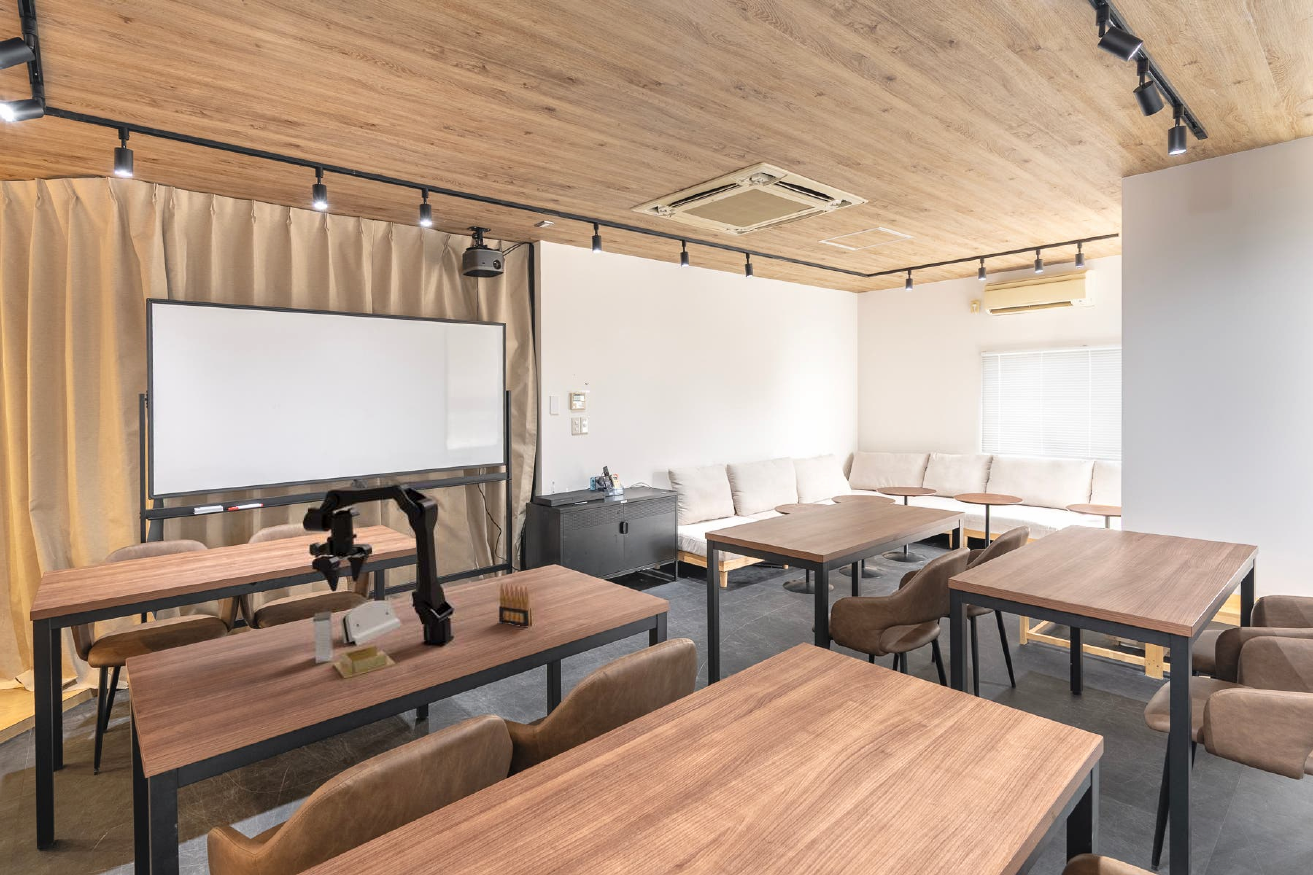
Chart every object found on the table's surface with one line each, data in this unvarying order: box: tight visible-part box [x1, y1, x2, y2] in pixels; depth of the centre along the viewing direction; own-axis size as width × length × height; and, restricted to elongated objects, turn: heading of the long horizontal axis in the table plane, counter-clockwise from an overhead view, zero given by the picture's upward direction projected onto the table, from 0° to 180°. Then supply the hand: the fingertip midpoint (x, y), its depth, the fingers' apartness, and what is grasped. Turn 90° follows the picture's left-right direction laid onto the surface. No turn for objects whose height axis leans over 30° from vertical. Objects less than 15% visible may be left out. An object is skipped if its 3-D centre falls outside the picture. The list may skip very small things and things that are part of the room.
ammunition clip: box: [498, 582, 533, 627], centre depth 191 cm, size 11×2×12 cm, turn 65°
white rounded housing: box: [339, 600, 403, 646], centre depth 186 cm, size 17×5×10 cm, turn 156°
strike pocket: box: [333, 644, 396, 679], centre depth 164 cm, size 12×11×3 cm
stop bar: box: [312, 610, 334, 664], centre depth 168 cm, size 4×5×12 cm
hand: (344, 586), depth 183 cm, fingers open, 9 cm apart
